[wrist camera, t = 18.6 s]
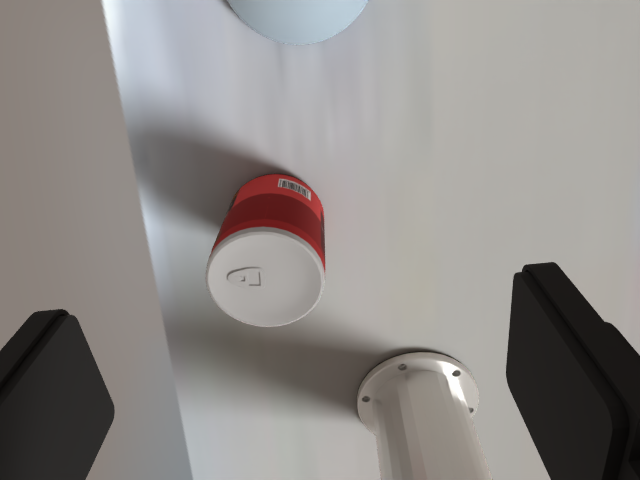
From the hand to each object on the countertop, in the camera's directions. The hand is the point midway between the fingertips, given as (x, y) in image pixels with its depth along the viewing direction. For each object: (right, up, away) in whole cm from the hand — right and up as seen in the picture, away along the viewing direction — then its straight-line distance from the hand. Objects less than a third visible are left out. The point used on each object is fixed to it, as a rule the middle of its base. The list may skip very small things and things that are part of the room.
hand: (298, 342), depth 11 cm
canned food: (-3, +5, +32) cm, 33 cm away
